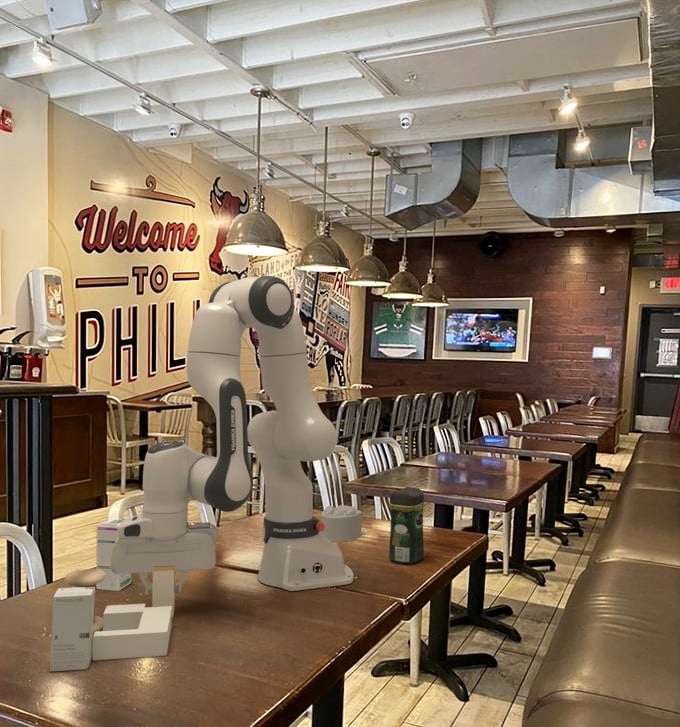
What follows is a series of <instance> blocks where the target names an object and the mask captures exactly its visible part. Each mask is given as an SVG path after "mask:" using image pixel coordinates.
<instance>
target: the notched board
mask: <svg viewBox="0 0 680 727" xmlns="http://www.w3.org/2000/svg"><path fill="white" fill-rule="evenodd" d="M102 615H103V616H102V618H103V629H102V630H100V631H98V632H95V633H94V634H93V644H92V661H103V660H104V661H105V660H117V659H118V660H121V659H132V658H133V659H134V658H148V657H163V656H164V657H165V656H167V655H168V650H169V645H170V644H169V643H170V638H171V632H172V631H171V630H172V620H173V619H172V618H173V617H172V606H163V607H152V606H150V607H149V606H147V607H146V603H132V604H130V603H129V604H114V605H113V604H111V605H106V607H105V609H104V612H103V614H102Z"/></svg>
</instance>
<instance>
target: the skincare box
mask: <svg viewBox="0 0 680 727" xmlns="http://www.w3.org/2000/svg"><path fill="white" fill-rule="evenodd" d="M94 600H95V601H96V586H95V587H75V586H72V587H60V588H57V589H56V591H55V593H54V595H53V598H52V615H51V637H50V659H49V662H50V663H49V672H61V671H63V672H66V671H78V670H88V669H89V666H90V663H91V662H92V659H93V636H94V634H93V622H94Z"/></svg>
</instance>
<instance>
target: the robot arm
mask: <svg viewBox="0 0 680 727" xmlns="http://www.w3.org/2000/svg"><path fill="white" fill-rule="evenodd" d="M294 304H295V303H294V297H293V293H292V290H291V289H290V287H289V285H288V283H287V282H286V281H285V280H284V279H282V278H280V277H277V276H273V275H272V276H271V275H262V276H249V277H243V278H241V279H237V280H233V281H227V282H223V283H221V284H220V285H218V286H217V287H216V288H215V289H214V290H213V291H212V293H211V294H210V296H209V300H208V303H205V304H203V305H201V306H200V307H199V308H198V309H197V310H196V312H195V315H194V317H193V320H192V325H191V328H190V334H189V339H188V345H187V353H186V354H187V355H186V357H187V358H186V377H187V381H188V383H189V385H190V387H191V388H192V389H193V391H194V392H196V393H197V394H198V395H199V396H201V398H203V399H204V400H205V401H206V402H207V403H208V404H209V405H210V407H211V408H212V410H213V412H214V414H215V419H216V456H213V455H207V454H206V453H202V452H200V451H198V450H195V449H193V448H191V447H190V446H189V445H187V444H186V443H185V442H183V441H180V440H170V441H169V440H168V441H163V442H158V443H155V444H154V445H152V446H151V447H150V448H148V450H147V452H146V454H145V456H144V457H145V458H144V464H143V470H142V491H143V494H144V499H143V500H144V501H143V504H142V508H141V511H142V512H141V514H138V515H135V516H132V517H128V518H124V519H125V520H124V521H123V522H121V524H120V525H119V527H118V538H117V539H116V541H115V543H114V546H113V550H112V555H111V564H110V569H111V571H112V572H113V573H114V574H126V573H133V574H139V579H140V581H141V582H142V584H143V585H144V587H145V595H146V596H148V595H152V594H153V582H150V581H149V579H148V576H149V574H150V573H153V567H161V566H174V571H175V572H179V576H180V578H179V580H178V581H175V582H174V593H175V594H181V593H182V592H183V591H182V590H183V588H182V587H183V584H184V582H185V580H186V579H187V578H188V573H189V571H211V570H213V569H214V567H215V566H216V563H217V562H216V561H217V560H216V546H215V544H216V543H217V541H218V537H219V534H218V533H219V531H218V530H219V529H218V527H217V526H215V524H211V522H208V521H205V522H188V520H189V519H188V518H189V503H190V502H191V501H192V502H193V501H197V502H199V503H201V504H205V505H209V506H210V507H212V508H214V509H217V510H218V511H220V512H224V513H231V512H234V511H237V510H238V509H240V508H241V507H242V506H243V505H245V503H246V502H247V501H248V499H249V498H250V496H251V493H252V491H253V485H254V475H253V471H252V467H251V465H250V459H249V445H250V446H251V448H252V449H253V450H254V452H255V453H256V456H257V458H258V461H259V464H260V467H261V471H262V475H263V480H264V485H265V486H264V487H265V516H264V518H263V523H262V539H263V540H262V541H263V543H264V544H263V551H262V556H261V557H262V558H261V562H260V566H259V571H258V573H257V576H256V577H257V580H258V581H259V582H260V583H262V584H265V585H266V586H267V585H268V586H271V587H276V588H281V589H284V590H286V591H289V592H294V591H296V592H297V591H302V590H303V591H304V590H311V589H318V588H328V587H335V586H344V585H349V584H352V583H353V582H354V579H355V578H354V572H353V570H352V569H351V568H350V567H349V566H348V565H346V564H345V561H344V556H343V553H342V551H341V549H340V547H339V546H338V545H337V544H335V542H331V541H330V540H329V539H328V538H326V537H325V536H324V535H323V534H321V532H322V531H324V530H323V529H325V525H324V523H323V522H321V519H319V518H317V517H316V516H314V515H313V508H314V507H313V505H314V504H313V503H314V502H313V500H314V499H313V498H314V497H313V496H314V490H313V489H314V486H313V483H312V481H311V480H310V478H309V477H308V476H307V474H306V472H304V469H303V467H302V464H301V462H306V463H307V462H316V461H323V460H325V459H327V458H329V457H330V456H331V455H332V453H333V452H334V450H335V447H336V444H337V440H338V439H337V432H336V428H335V425H334V423H333V422H332V421H330V419H328V418H327V417H326V415H325V414H324V413H323V411H322V410H321V407H320V406H319V403H318V401H317V399H316V396H315V394H314V392H313V388H312V385H311V379H310V371H309V362H308V352H307V351H308V350H307V343H306V336H305V332H304V331H305V329H304V326H303V324H302V322H303V321H302V319H301V317H300V314H299V312H298V311H297V310H296V309H295V305H294ZM252 328H253V329H254V331H255V333H256V334H257V337H258V352H259V362H260V363H259V364H260V365H259V366H260V375H261V384H262V389H263V391H264V392H265V393H266V395H267V396H268V397H270V399H271V400H272V402H273V405H274V406H275V409H276V410H270V411H264V412H263V411H262V412H260V413H257V414H256V415H254V416H252V418H251V420H250V421H249V422H248V409H247V408H248V406H247V405H248V404H247V396H246V391H245V389H244V386H243V384H242V379H241V354H242V353H241V352H242V351H241V350H242V337H243V334H244V333H245V330H246V329H252Z"/></svg>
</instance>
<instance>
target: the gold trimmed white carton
mask: <svg viewBox="0 0 680 727" xmlns="http://www.w3.org/2000/svg"><path fill="white" fill-rule="evenodd" d="M174 582H176V571H174V566H161V567H153V572H152V583H153V594H151V595H152V600H151V601H152V602H151V607H163V606H172V618H174V614H175V601H176V600H175V599H176V598H175V596H176V595H175V594H176V593H174Z"/></svg>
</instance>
